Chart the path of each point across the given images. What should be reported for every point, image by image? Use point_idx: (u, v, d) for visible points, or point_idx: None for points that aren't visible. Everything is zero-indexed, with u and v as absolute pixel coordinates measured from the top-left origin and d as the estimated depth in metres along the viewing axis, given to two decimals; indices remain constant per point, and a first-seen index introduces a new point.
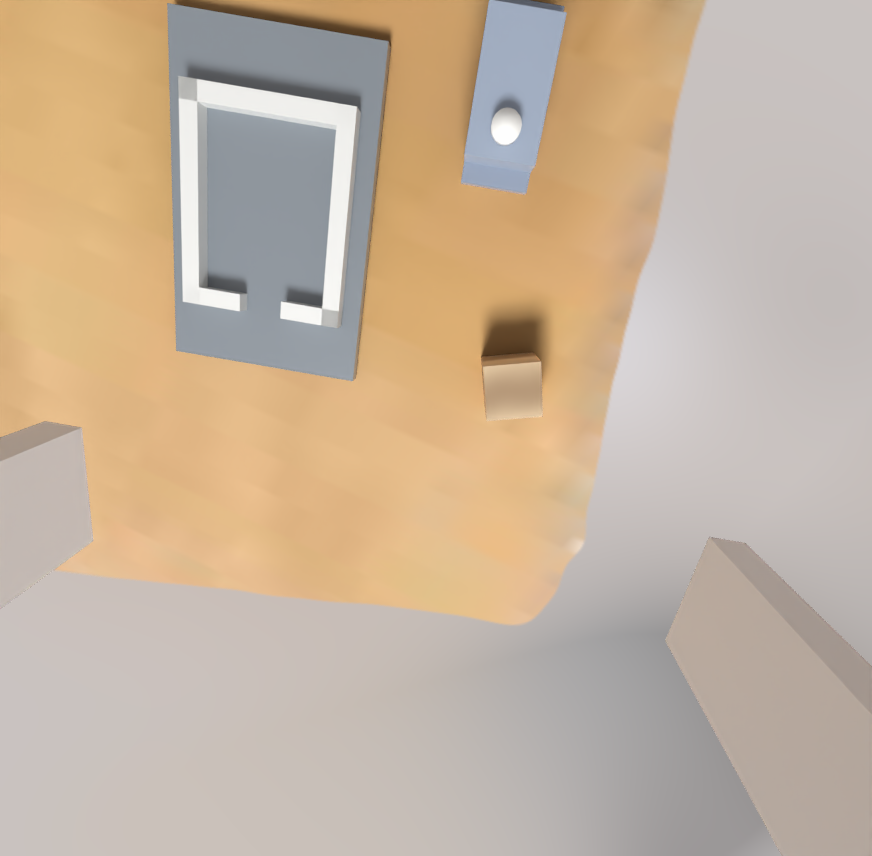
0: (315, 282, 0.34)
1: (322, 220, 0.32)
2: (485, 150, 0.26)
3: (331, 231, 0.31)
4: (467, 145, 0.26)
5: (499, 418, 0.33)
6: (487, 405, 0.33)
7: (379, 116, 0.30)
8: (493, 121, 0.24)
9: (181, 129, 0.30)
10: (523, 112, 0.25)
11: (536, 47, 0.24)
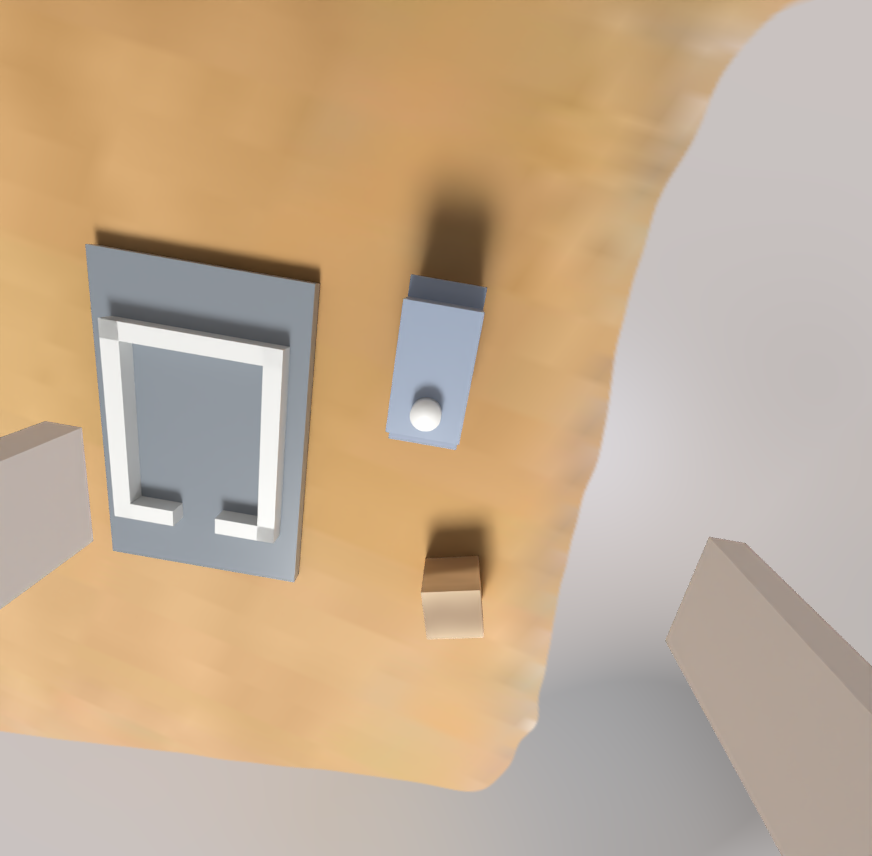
0: (251, 495, 0.33)
1: (255, 440, 0.31)
2: (407, 429, 0.25)
3: (263, 459, 0.30)
4: (388, 424, 0.25)
5: (439, 637, 0.32)
6: (427, 626, 0.32)
7: (309, 350, 0.29)
8: (411, 413, 0.23)
9: (104, 365, 0.29)
10: (444, 397, 0.24)
11: (454, 342, 0.23)
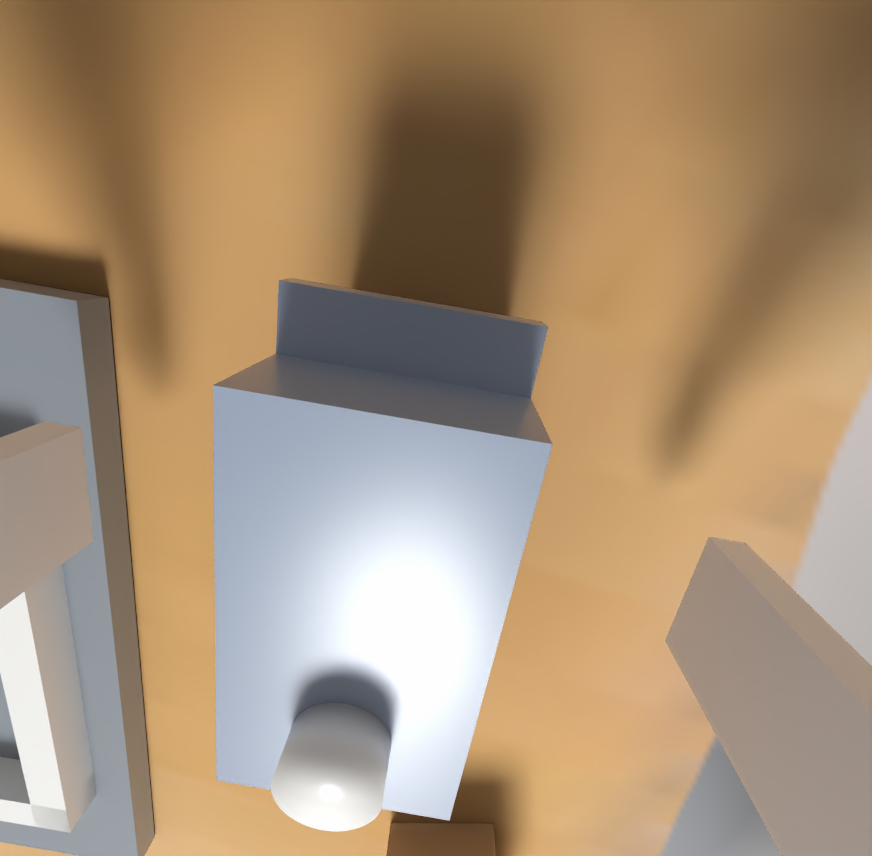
0: None
1: None
2: None
3: (12, 692, 0.13)
4: (222, 763, 0.08)
5: None
6: None
7: (91, 460, 0.12)
8: (276, 786, 0.06)
9: None
10: (399, 705, 0.07)
11: (429, 544, 0.06)
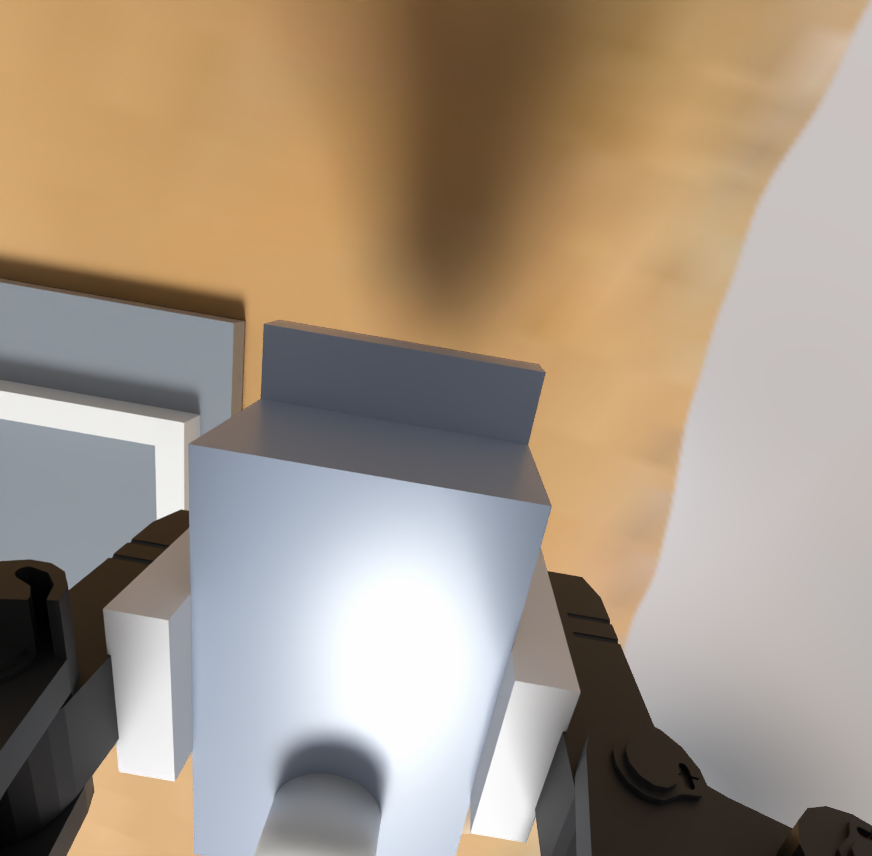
0: None
1: None
2: None
3: None
4: (199, 836, 0.07)
5: None
6: None
7: None
8: None
9: None
10: (389, 776, 0.06)
11: (421, 610, 0.06)
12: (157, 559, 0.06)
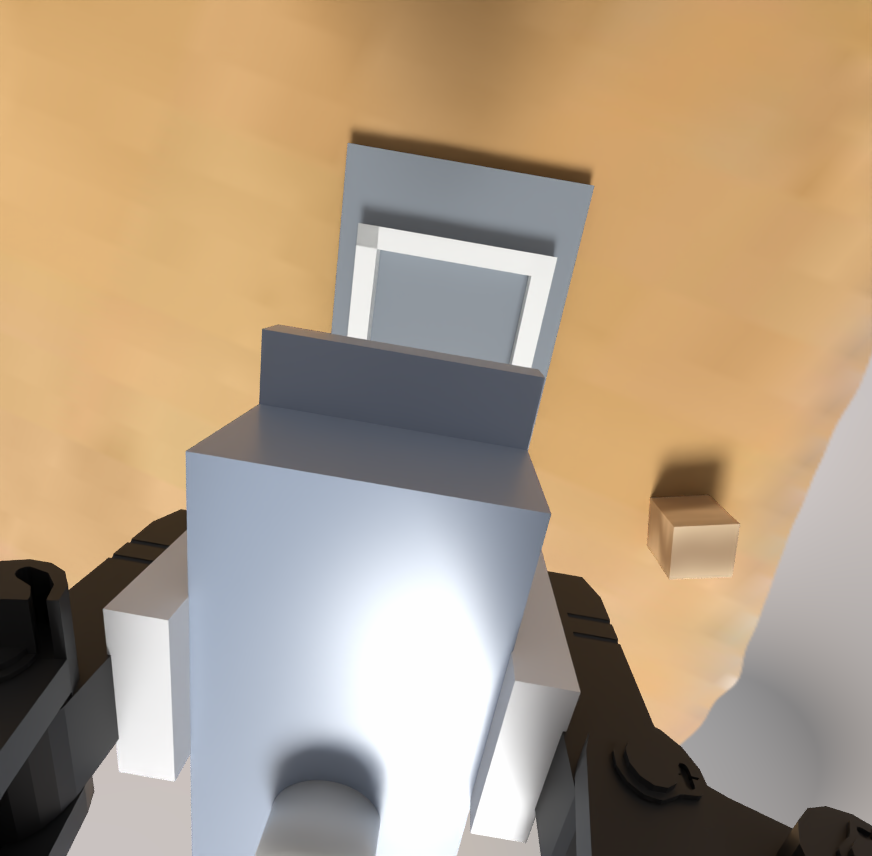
0: None
1: None
2: None
3: None
4: (198, 842, 0.07)
5: (683, 577, 0.30)
6: (672, 564, 0.30)
7: (574, 262, 0.27)
8: None
9: (355, 276, 0.27)
10: (388, 783, 0.06)
11: (420, 617, 0.05)
12: (157, 559, 0.06)
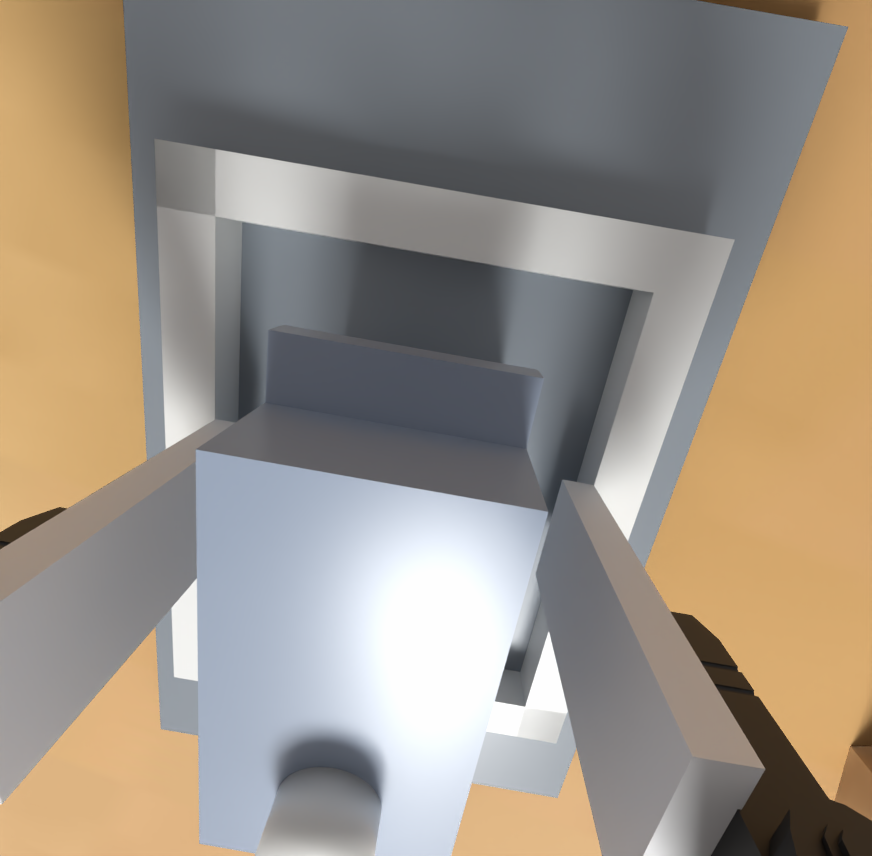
0: None
1: None
2: None
3: None
4: (205, 827, 0.07)
5: None
6: None
7: (759, 254, 0.10)
8: None
9: (167, 294, 0.10)
10: (389, 770, 0.07)
11: (421, 610, 0.06)
12: None
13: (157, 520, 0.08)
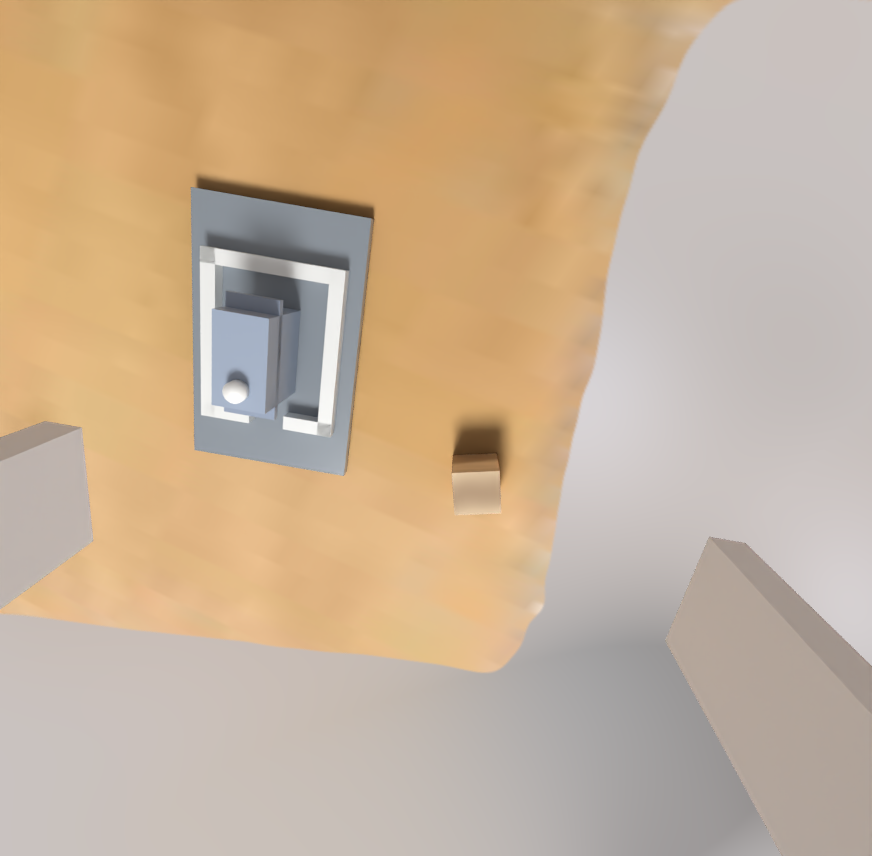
0: (312, 398, 0.40)
1: (317, 351, 0.39)
2: (226, 403, 0.34)
3: (325, 363, 0.38)
4: (212, 399, 0.34)
5: (465, 513, 0.40)
6: (455, 503, 0.40)
7: (364, 273, 0.36)
8: (223, 390, 0.33)
9: (201, 284, 0.36)
10: (250, 379, 0.33)
11: (251, 339, 0.32)
12: None
13: None
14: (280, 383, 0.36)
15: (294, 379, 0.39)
